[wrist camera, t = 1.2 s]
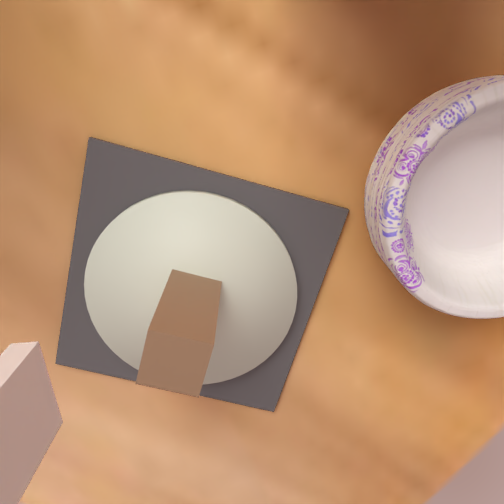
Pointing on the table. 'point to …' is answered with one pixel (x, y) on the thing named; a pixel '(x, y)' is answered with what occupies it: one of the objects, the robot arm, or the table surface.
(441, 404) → the table surface
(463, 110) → the paper bowls
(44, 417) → the robot arm
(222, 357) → the lid
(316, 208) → the mat
